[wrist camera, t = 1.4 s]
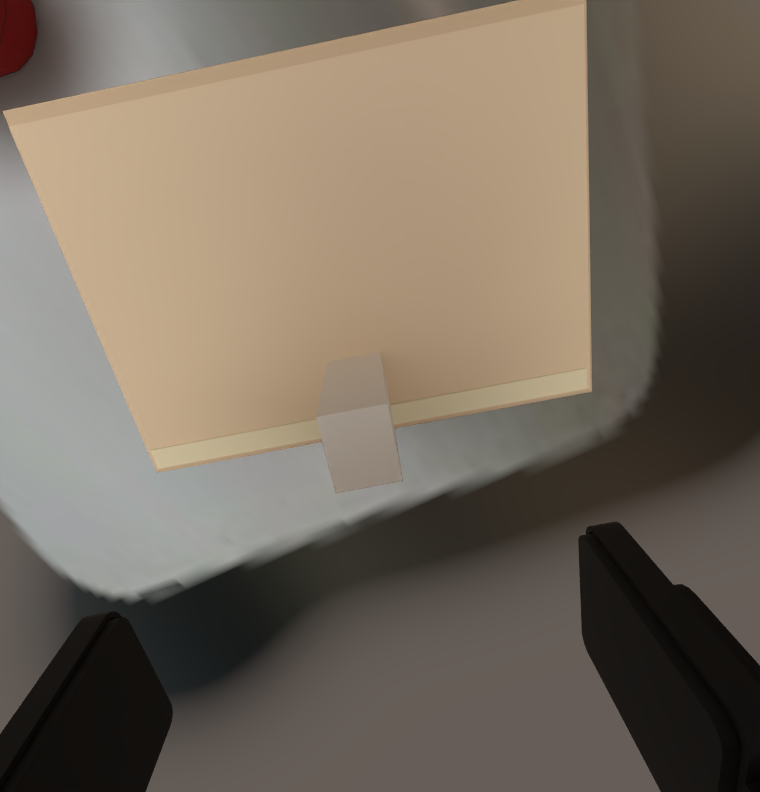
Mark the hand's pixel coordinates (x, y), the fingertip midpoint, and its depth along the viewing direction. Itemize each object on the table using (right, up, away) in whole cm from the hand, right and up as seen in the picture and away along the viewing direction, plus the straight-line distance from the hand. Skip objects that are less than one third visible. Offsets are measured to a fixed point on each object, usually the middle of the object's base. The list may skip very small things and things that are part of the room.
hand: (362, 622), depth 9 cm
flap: (-2, +10, +10) cm, 14 cm away
